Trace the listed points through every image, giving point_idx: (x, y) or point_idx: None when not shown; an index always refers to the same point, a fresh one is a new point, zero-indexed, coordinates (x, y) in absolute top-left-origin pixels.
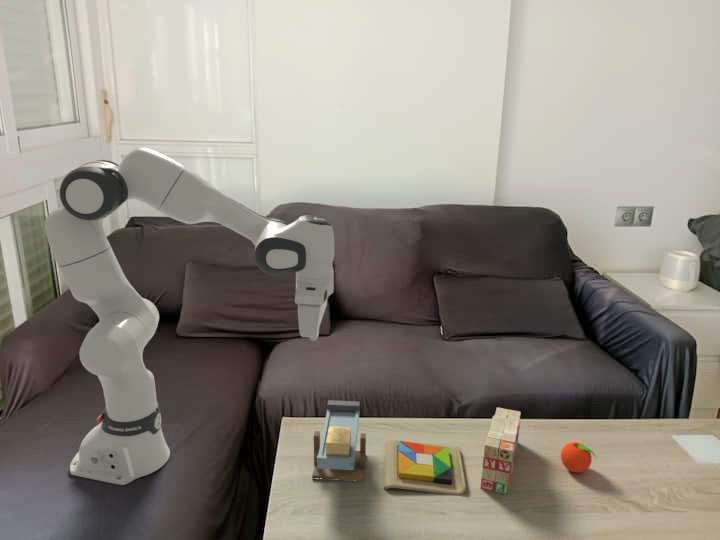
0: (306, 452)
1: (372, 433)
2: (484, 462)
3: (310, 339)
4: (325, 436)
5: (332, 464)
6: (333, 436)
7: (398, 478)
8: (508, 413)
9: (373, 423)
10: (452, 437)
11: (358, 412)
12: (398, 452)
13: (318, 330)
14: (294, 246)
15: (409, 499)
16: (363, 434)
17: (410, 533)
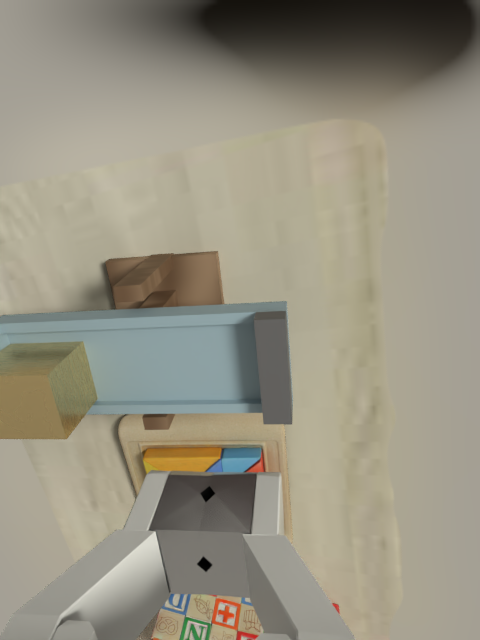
0: (211, 218)
1: (326, 380)
2: (155, 624)
3: (150, 475)
4: (106, 328)
5: None
6: (1, 394)
7: (144, 447)
8: None
9: (375, 380)
10: (329, 539)
11: (255, 411)
12: (235, 447)
13: (249, 595)
14: None
15: (110, 457)
16: (161, 424)
17: (29, 457)
